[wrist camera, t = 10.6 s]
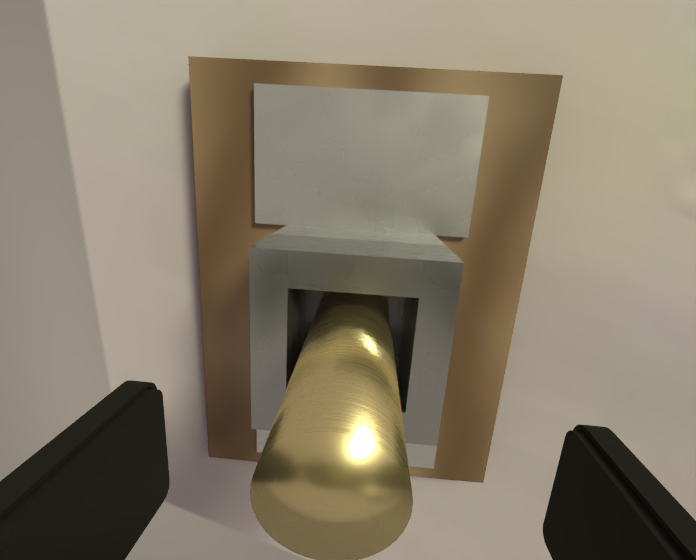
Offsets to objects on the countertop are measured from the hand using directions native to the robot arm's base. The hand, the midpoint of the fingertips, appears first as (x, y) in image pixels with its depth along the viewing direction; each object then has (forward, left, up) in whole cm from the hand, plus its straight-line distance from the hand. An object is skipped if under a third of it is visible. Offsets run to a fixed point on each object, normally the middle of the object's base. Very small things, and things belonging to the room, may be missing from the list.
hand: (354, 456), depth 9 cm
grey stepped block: (0, 0, -11) cm, 11 cm away
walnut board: (0, 0, -12) cm, 12 cm away
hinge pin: (0, 0, -9) cm, 9 cm away
